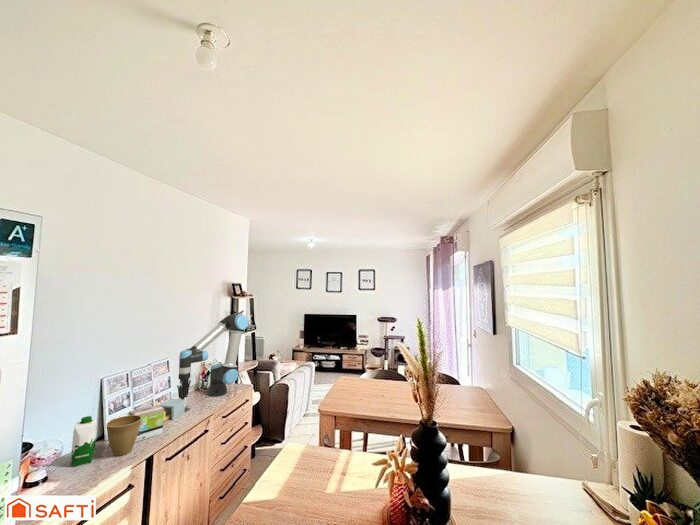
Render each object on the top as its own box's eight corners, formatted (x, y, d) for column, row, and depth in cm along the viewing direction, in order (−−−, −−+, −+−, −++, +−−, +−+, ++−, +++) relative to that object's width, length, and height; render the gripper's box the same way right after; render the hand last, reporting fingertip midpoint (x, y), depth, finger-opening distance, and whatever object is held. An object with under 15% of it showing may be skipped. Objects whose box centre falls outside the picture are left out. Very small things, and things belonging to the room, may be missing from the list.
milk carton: (94, 455, 158) (98, 414, 159) (93, 463, 150) (96, 420, 152) (71, 460, 153) (75, 418, 154) (69, 469, 145) (73, 424, 147)
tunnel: (180, 406, 224) (181, 393, 225) (194, 406, 224) (194, 393, 225) (147, 425, 192) (148, 410, 192) (163, 426, 191) (164, 411, 192)
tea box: (133, 443, 170) (135, 415, 171) (126, 438, 176) (128, 411, 177) (163, 433, 181) (164, 407, 183) (156, 429, 188) (157, 403, 189)
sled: (175, 409, 215) (176, 400, 216) (183, 410, 215) (183, 400, 215) (150, 425, 191) (151, 414, 191) (159, 425, 190) (159, 414, 191)
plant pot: (144, 444, 169) (146, 414, 170) (130, 459, 154) (132, 425, 156) (114, 446, 166) (117, 415, 168) (96, 461, 152) (99, 427, 153)
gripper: (185, 370, 227) (183, 403, 225) (173, 375, 214) (172, 410, 212) (194, 370, 227) (193, 403, 225) (184, 375, 214) (182, 410, 212)
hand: (183, 407), depth 219 cm, fingers closed
